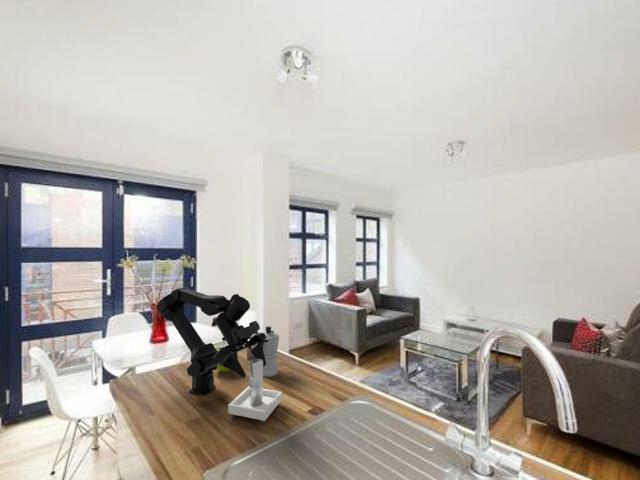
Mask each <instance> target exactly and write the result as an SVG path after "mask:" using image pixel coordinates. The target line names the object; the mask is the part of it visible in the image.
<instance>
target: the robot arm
mask: <svg viewBox="0 0 640 480" xmlns="http://www.w3.org/2000/svg"><path fill="white" fill-rule="evenodd" d="M186 303H187V304H189V305H192V306H194V307H198V308H200V311H201V312H202V313H203V314H205V315H206V316H209V317H212V316H215V315H217V316H216V317H213V318H212V323H211V327H217V328H218V330H219V331H220V333H221V335H222V337H221V340H222V341H223V342H226V343H227V345H225V346H223V347H221V349H220V350H219V349H217V350H216V349H215V348H216V347H215V345H214V344H213V343H212V342H209V343H206V342H204V340H203V339H202V337H201V336H200V335H199V333H198V332H197V330H196V328H195V327H194V325H192V323H191V322H190V319H189V318H188V317H187V315H186V313H185V307H186V306H185V305H186ZM250 308H251V303H250V301H249V300H247V299H246V298H245V297H244V296H240V295H239V293H236V294H235V293H234V294H233V295H232V296H230V299H227V297H226V296H224V295H220V294H219V295H215V294H214V295H212V294H211V295H208V294H205V293H201V292H198V291H196V290H192V289H190V288H189V287H185V286H184V287H178V288H175V289H173V290H172V292H171V293H168V294H167V295H165V296H164V297H163V298H162V299H160V300H159V301H158V303H157V305H156V309H157V312H159V314H160V316H161V317H162V318H164V320H167V321H170V322H171V323H172V324H173V326H174V328H175V329H176V331H177V332H178V334H179V335H180V337H181V339H182V340H183V341H184V343H185V345H186V346H187V348H188V349H189V351H190V363H191V364H189V366H188V367H187V369H186V371H187V375H188V376H190V377H191V388H190V389H189V390H188V393H191V394H196V395H201V396H206V395H208V393H209V392H211V391H213V390H214V388H216V384H215V382H214V381H215V376H214V371H216V370H218V369H217V366H218V365H219V364H221V365H220V366H221V367H222V366H224V367H226V368H228V369H230V370H231V371H232V372H233V373H235V374H237V375H238V376H240V377H242V378H245V377H246V376H247V375H246V372H245V369H243V366H242V365H241V363H240V361H239V358H238V359H237V352H238V353H239V352H241V351H244V350H247V348H249V349H251V350H252V351H251V353H252V354H253V356H254V357H255V358H256V359H262V360H263V366H265V365H266V361H265V356H264V351H263V345H264V343H265V339H266V338H267V337H266V335H265V334H264V333H265V332H259V331H260V329H261V328H260V327H261V326H260V324H259V323H258V321H257V320H254V321H251V322H249V323H248V324H249V325H248V326H245V327H244V325H242V324H241V325H239V323H238V321H240V320H241V319H242V318H243V317H244V316H245V314H246V313H248V311H249V310H250ZM253 335H254V336H253ZM251 336H253V337H252V338H251ZM250 338H251V339H250ZM218 350H219V351H218Z"/></svg>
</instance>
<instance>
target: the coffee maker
mask: <svg viewBox="0 0 640 480" xmlns="http://www.w3.org/2000/svg"><path fill="white" fill-rule="evenodd" d="M264 329H265V332H263V333H264V334H265V335H266V337H267V338H266V339H265V343H264V345H263V351H264V356H265V361H266V365H265V366H263V378H265V377H267V378H270V377H273V376H277V375H278V374H279V366H278V358H277V353H278V348H279V341H280V335H279V334H278V333H276V332H275V330H272V326H265V328H264Z"/></svg>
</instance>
